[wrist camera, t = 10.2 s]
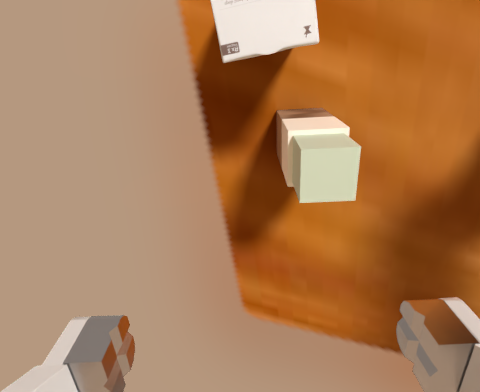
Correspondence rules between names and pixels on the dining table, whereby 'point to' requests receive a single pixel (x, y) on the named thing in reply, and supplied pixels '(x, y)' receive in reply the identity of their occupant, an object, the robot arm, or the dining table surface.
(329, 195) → the block small
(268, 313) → the dining table surface
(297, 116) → the block bottom
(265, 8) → the skincare box
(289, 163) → the block top
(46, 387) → the robot arm
